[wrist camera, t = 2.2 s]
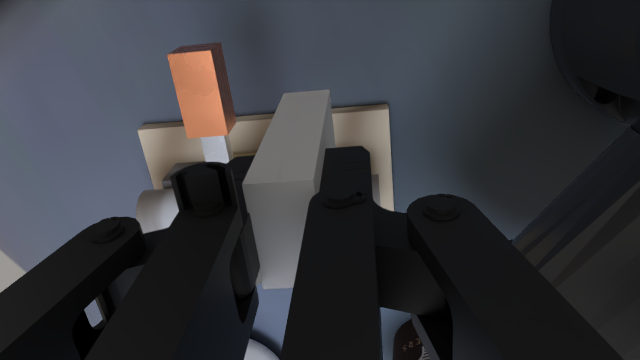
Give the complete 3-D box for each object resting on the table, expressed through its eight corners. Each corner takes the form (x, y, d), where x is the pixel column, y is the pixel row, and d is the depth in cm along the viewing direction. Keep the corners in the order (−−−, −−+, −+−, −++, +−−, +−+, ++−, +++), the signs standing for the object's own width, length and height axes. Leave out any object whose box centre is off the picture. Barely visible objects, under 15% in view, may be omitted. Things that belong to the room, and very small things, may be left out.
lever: (274, 273, 29) (269, 293, 28) (224, 276, 29) (217, 295, 28) (231, 41, 23) (221, 49, 22) (170, 47, 24) (156, 55, 22)
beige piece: (387, 103, 35) (397, 163, 26) (394, 225, 39) (404, 313, 30) (143, 124, 37) (72, 186, 28) (175, 237, 41) (123, 324, 32)
